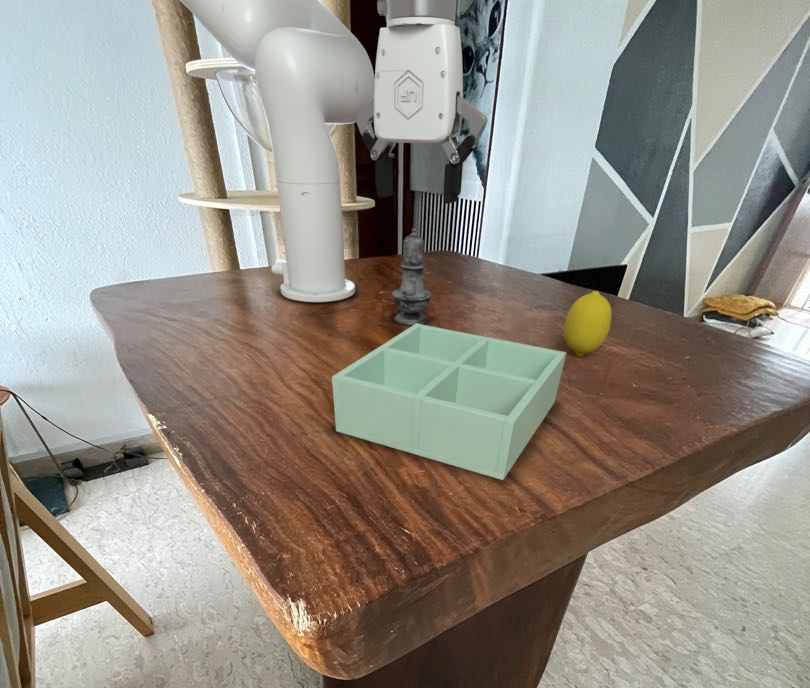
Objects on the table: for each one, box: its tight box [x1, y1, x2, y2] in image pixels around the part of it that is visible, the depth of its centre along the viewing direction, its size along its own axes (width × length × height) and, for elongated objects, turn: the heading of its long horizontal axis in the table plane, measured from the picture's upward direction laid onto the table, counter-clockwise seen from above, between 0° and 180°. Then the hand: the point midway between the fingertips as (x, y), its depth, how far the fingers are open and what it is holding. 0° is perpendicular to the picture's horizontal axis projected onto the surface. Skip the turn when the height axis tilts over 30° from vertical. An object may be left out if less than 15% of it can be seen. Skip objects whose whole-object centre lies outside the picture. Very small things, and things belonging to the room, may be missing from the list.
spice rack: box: [331, 323, 567, 481], centre depth 50 cm, size 17×17×6 cm
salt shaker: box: [391, 226, 433, 326], centre depth 71 cm, size 6×6×12 cm
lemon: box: [563, 290, 612, 358], centre depth 62 cm, size 6×6×8 cm
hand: (417, 199), depth 65 cm, fingers open, 9 cm apart
